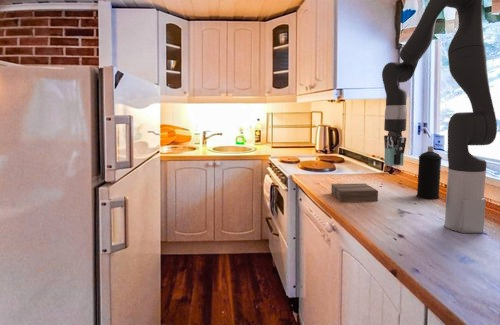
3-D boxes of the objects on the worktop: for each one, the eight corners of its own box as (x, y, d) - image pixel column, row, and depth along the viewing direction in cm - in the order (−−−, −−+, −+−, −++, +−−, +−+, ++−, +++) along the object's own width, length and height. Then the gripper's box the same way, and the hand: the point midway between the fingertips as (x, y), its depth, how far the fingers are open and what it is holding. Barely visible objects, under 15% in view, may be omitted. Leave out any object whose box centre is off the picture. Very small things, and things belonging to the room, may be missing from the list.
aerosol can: (426, 200, 138) (429, 147, 135) (411, 195, 146) (414, 145, 143) (444, 198, 140) (447, 146, 138) (428, 193, 148) (431, 145, 145)
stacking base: (377, 201, 138) (378, 190, 137) (341, 201, 137) (341, 191, 136) (364, 192, 151) (364, 183, 151) (331, 193, 151) (331, 184, 150)
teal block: (403, 165, 134) (403, 149, 133) (389, 165, 134) (390, 149, 133) (397, 163, 139) (397, 148, 138) (384, 163, 139) (384, 148, 138)
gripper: (414, 118, 127) (412, 166, 130) (396, 117, 142) (395, 161, 144) (393, 118, 127) (391, 166, 129) (377, 118, 141) (376, 161, 144)
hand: (393, 163), depth 137 cm, fingers closed on teal block, 5 cm apart
